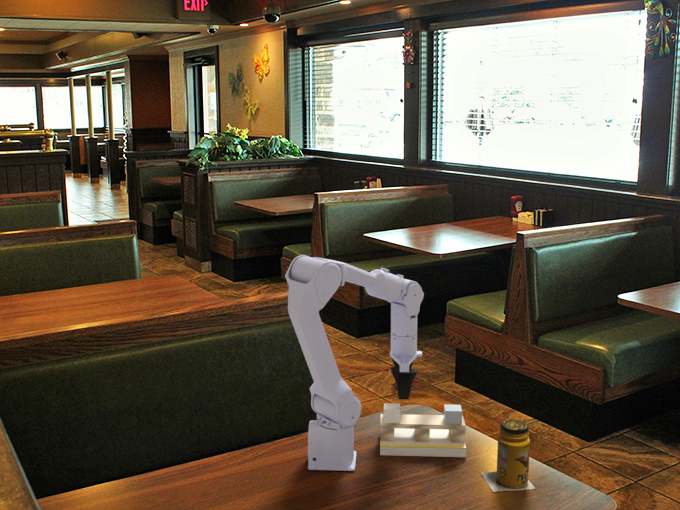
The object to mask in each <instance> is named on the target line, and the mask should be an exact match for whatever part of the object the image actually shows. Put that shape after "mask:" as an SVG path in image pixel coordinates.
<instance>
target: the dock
mask: <svg viewBox="0 0 680 510" xmlns="http://www.w3.org/2000/svg"><path fill="white" fill-rule="evenodd" d="M379 455H380V456H394V457H395V456H399V457H400V456H401V457H402V456H403V457H440V458H441V457H443V458H444V457H446V458H467V446H466V442H465V443H451V441H450V436H449V429H430V442H415V429H406V428H394V441H380V440H379Z"/></svg>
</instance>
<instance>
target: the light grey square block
mask: <svg viewBox="0 0 680 510" xmlns="http://www.w3.org/2000/svg"><path fill="white" fill-rule="evenodd" d="M443 415H444V421H445V424H458V425H462V416H463V409H462V405H461V404H452V403H451V404H449V403H448V404H447V403H446V404H443Z"/></svg>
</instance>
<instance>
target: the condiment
mask: <svg viewBox="0 0 680 510" xmlns="http://www.w3.org/2000/svg"><path fill="white" fill-rule="evenodd" d="M529 430H530V429H529V426H528V424H527V423H526V422H525V421H523V420H518V419H505V420H503V421H502V422H501V423H500V429H499V434H498V437H497V455H496V457H497V458H496V471H483V472H480V475H481V476H482V477H483V479H484V481H485V482H486V484H487V486H488V487H489V488H490V490H492V492H493V493H499V492H505V491H506V492H508V491H511V492H513V491H516V492H517V491H527V490H535V489H536V487H535V486H534V485H533V483H532V482H531V481H530V480H529V471H530V469H529V468H530V467H529V466H530V446H531V440H530V437H529Z"/></svg>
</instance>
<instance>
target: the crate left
mask: <svg viewBox="0 0 680 510" xmlns="http://www.w3.org/2000/svg"><path fill="white" fill-rule="evenodd" d="M383 414H384V423H400V414H401V403H399V402H398V403H397V402H395V403H391V402H388V403H387V402H384V403H383Z"/></svg>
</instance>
